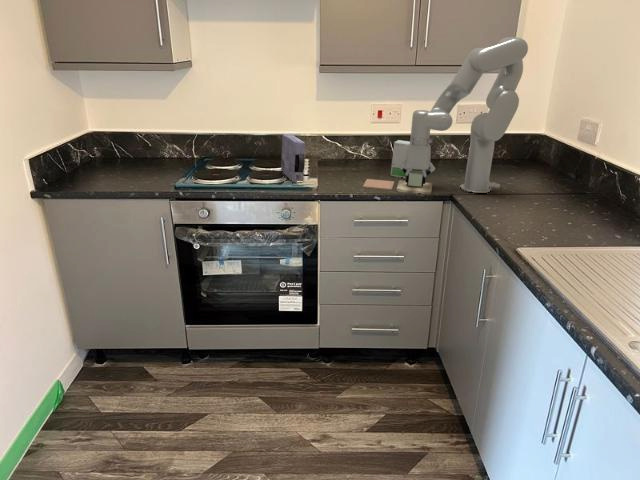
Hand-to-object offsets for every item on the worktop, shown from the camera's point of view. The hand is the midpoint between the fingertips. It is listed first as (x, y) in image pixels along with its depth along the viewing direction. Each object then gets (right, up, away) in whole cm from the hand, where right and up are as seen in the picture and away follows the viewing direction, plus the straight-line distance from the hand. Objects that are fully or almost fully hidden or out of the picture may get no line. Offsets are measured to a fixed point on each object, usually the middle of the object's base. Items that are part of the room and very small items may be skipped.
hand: (415, 184), depth 208 cm
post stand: (0, -2, +1) cm, 2 cm away
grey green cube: (0, 0, 0) cm, 0 cm away
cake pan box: (-52, +4, +10) cm, 53 cm away
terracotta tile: (-15, 0, +4) cm, 15 cm away
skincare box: (-3, +6, +19) cm, 20 cm away
